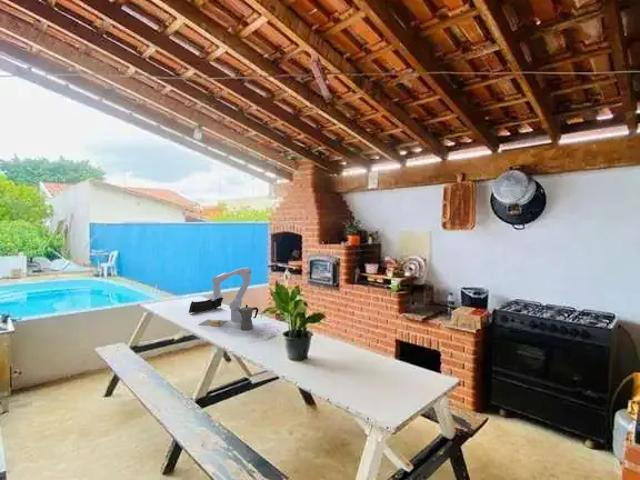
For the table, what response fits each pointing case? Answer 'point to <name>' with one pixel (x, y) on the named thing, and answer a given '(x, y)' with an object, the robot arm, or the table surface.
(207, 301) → the black tray
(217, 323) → the card box
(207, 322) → the mat
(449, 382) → the table surface
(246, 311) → the coffeepot
